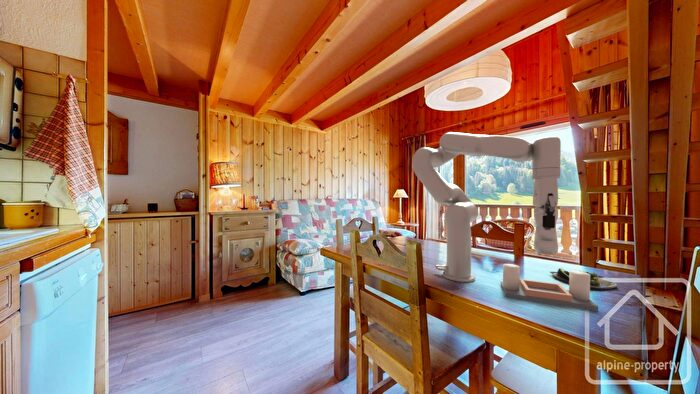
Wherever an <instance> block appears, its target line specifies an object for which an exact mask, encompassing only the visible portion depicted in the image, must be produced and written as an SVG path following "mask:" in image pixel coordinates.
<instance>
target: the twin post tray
mask: <svg viewBox="0 0 700 394" xmlns="http://www.w3.org/2000/svg"><path fill="white" fill-rule="evenodd" d="M502 265H503V266H502V280H501V281H500V288H501V289H502V292H503V296H504V297H505V298H509V299H514V300H521V301H529V302H536V303H541V304H548V305H555V306H561V307H562V306H563V307H568V308H573V309H580V310H587V311H593V312H599V305H597V304H596V303H595V302H593V300H591V298H590V297H591V290H590V274H588V273H585V272H586V271H581V270H579V271H578V270H569V271H568V272H569V284H568V289H566V288H565V287H564V286H563V285H562V284H560V283H555V282H546V281H539V280H538V281H537V280H530V279H522V278H521V277H520V273H521V272H520V269H521V268H520V266H519V265H517V264H512V263H503V264H502ZM580 271H581V272H580Z"/></svg>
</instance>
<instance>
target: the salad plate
mask: <svg viewBox="0 0 700 394" xmlns="http://www.w3.org/2000/svg"><path fill="white" fill-rule="evenodd" d="M579 271H580V272H582V271H581V270H579ZM584 272H585V273H588V274H590V291H592V290H593V291H603V289H605V290H610V289H613V288H616V287H617V286H618V284H617V283H616V282H613V281H610V280H606V279H603V278H604V276H603V275H598V274H596V273H595V272H589V271H584ZM549 273H550V274H551V275H552V277H553V278H554V279H555V280H557V281H558V282H561V283H564V284H567V285H569V271H567V270H565V269H563V268H558V269H557V271H549ZM600 283H601V284H600ZM603 284H604V285H603ZM602 285H603V286H602ZM605 285H606V287H605Z"/></svg>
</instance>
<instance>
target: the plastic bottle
mask: <svg viewBox="0 0 700 394" xmlns="http://www.w3.org/2000/svg"><path fill="white" fill-rule="evenodd" d="M547 200H548V199H547ZM545 206H549V205H545ZM546 211H547V209H546ZM533 215H534V216H533V217H534V222H535V236H534V237H535V238H534V240H533V248H534V251H535V252H536V253H539V254H542V255H555V254H557V253H558V252H559V243H558V241H557V232H556V231H557V220H558V215H559V210H558V209H557V206H556V207H555V228H543V226H542V224H543V216H544V212H543V205H542V207H537V206H534V209H533Z"/></svg>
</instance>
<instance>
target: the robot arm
mask: <svg viewBox="0 0 700 394" xmlns="http://www.w3.org/2000/svg"><path fill="white" fill-rule="evenodd" d="M561 141H562V140H561V139H560V138H559V137H558V136H544V137H539V138H536V139H534V141H527V140H526V139H525V138H523V137H517V136H509V135H495V134H494V135H492V134H491V135H489V134H475V133H473V134H472V133H464V132H453V131H449V132H445V133H444V134H443V135H442V136H441V137H440V139H439V147H437V148H431V147H427V146H425V147H420V148H418V149H417V150H415V152H414V154H413V156H412V162H411V163H412V170H413V172H414V174H415V176H416V177H417V179H418V180H419V181H420V182H421V183H422V186H424V188H425V189H426V190H427V192H428V193H429V194H430V196H431V198H433V200H434V201H435V202H436V203H437V204H439V205H444V206H445V205H446V206H448V207H447V208H446V210H445V216H444V217H445V218H444V219H445V227H446V263H445V264H443V265H441V264H435V269H436V270H437V271H440V272H441V271H443V272H442V276H443V278H444V279H447V280H451V281H454V282H458V283H459V282H460V283H470V282H474V281H475V280H476V276H475V274H473V273H472V228H471V223H473V222H474V221H476V220H477V218H478V215H479V211H478V208H477V206H476V205H475V204H474V202H473V201H472V200H471V198H470V197H469V196H468V195H466V193H465V192H464V191H463V189H461V187H459V186H458V185H456V184H454V183H448V182H447V181H446V180H445V179H444V177H443V176H442V175H441V174H440V173H439V172H438V170H436V168H439V167H441V166H444V165H445V164H446V163H448V162H450V161H451V160H453V159H455V158H456V157H458V156H459V155H463V156H470V157H481V156H483V157H484V156H486V157H495V158H501V159H509V160H512V161H513V162H517V163H522V162H523V163H524V162H528V161H529V162H530V161H532V162H531V163H532V165H531V166H532V169H531V174H532V175H531V176H532V178H531V179H534V183H533V192H532V195H533V196H532V205H533V206H534V207H536V206H537V207H542V205H543V212H544V216H543V224H542V226H543V228H555V207H556V208H557V207H558V204H559V189H558V188H559V187H558V186H559V185H558V184H559V182H558V179H561V152H562V150H561ZM547 199H548V200H547ZM545 205H549V206H545ZM546 209H547V211H546Z"/></svg>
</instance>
